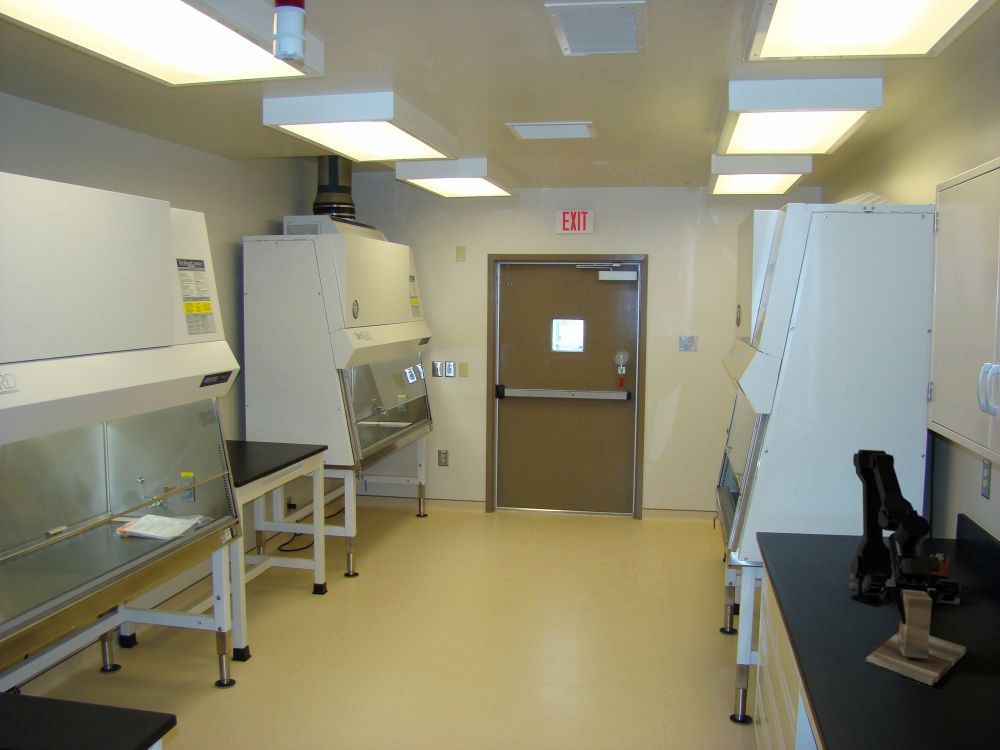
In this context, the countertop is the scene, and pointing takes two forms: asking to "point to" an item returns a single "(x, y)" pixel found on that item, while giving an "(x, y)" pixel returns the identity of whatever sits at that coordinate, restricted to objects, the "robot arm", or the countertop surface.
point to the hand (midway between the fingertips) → (916, 625)
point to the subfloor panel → (919, 659)
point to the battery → (943, 569)
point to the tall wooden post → (915, 624)
